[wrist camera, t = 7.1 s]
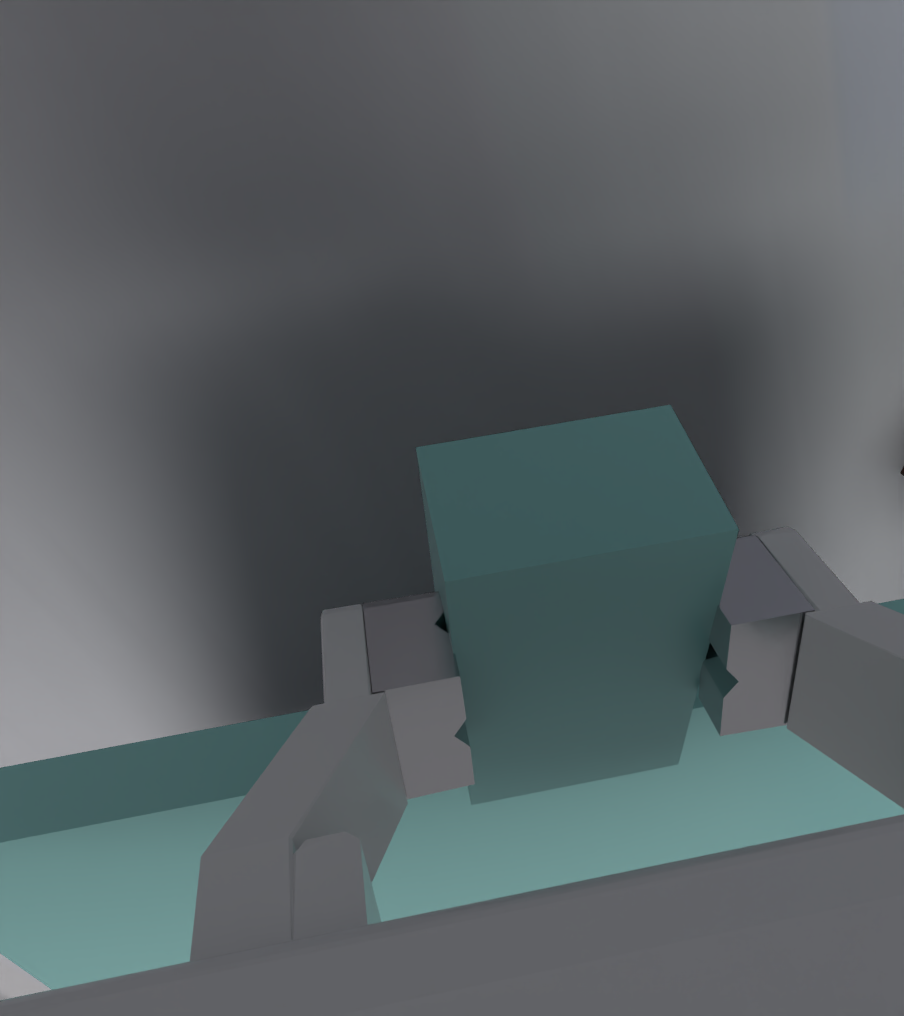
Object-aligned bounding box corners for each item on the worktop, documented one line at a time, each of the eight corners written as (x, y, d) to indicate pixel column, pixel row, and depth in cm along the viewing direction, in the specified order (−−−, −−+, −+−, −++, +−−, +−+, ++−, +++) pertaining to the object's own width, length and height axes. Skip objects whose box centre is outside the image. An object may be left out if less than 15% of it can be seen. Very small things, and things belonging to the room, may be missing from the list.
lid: (-347, 575, 9) (-450, 741, 8) (1323, 294, 11) (1484, 395, 9) (174, 1020, 23) (169, 1111, 21) (882, 873, 24) (920, 948, 23)
